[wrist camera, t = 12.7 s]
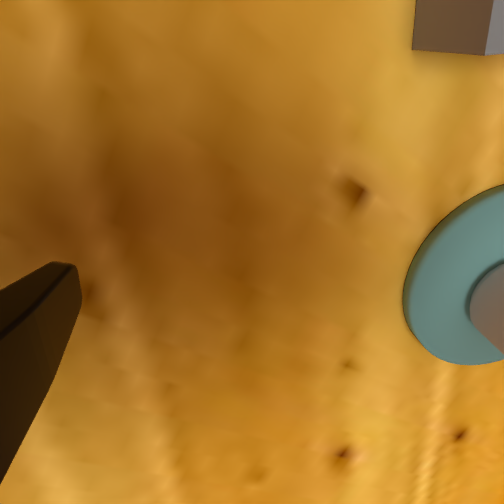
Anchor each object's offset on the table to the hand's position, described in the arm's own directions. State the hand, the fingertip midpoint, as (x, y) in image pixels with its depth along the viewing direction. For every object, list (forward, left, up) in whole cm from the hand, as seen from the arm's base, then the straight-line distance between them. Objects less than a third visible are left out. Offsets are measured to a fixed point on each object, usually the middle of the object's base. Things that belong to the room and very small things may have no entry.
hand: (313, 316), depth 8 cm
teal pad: (+4, -16, -12) cm, 20 cm away
